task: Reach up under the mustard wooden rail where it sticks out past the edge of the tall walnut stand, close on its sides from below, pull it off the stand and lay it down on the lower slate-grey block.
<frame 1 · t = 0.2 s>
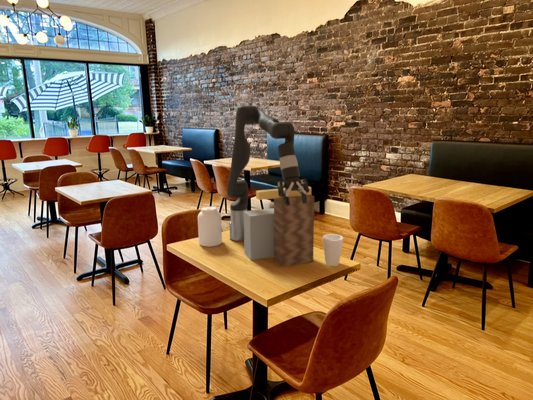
hand: (296, 204, 169), 32 cm above the table, tool tilted 20°, fingers open, 8 cm apart
white jar: (210, 243, 217), on the table
stand: (293, 260, 192), on the table
foam cup: (332, 263, 188), on the table
rail: (284, 196, 183), point 32 cm above the table, touching stand
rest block: (262, 254, 200), on the table
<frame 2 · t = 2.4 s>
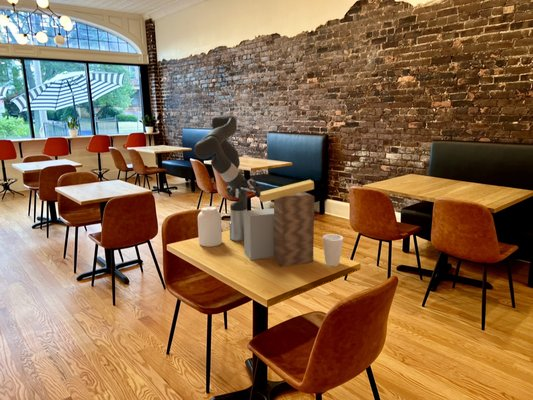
hand: (251, 198, 179), 32 cm above the table, tool tilted 40°, fingers open, 8 cm apart
rail: (287, 194, 183), point 33 cm above the table, tilted 14°, touching gripper
everything else where it was.
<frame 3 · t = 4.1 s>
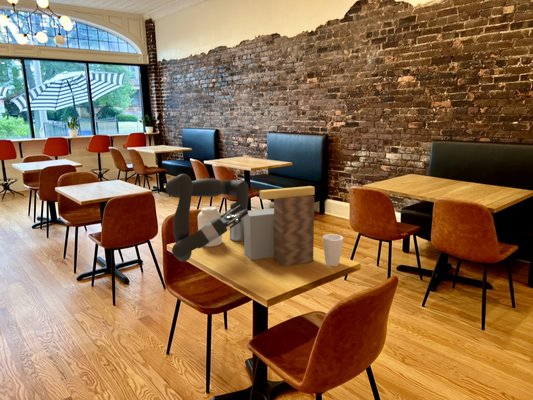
hand: (244, 208, 177), 28 cm above the table, tool pointing upward, fingers open, 8 cm apart
rail: (287, 196, 183), point 32 cm above the table, touching stand
everything else where it was.
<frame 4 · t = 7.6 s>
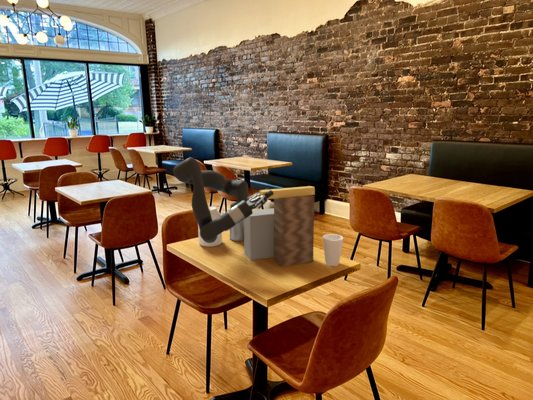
hand: (270, 190, 180), 35 cm above the table, tool pointing upward, fingers closed on rail, 3 cm apart
rail: (287, 196, 183), point 32 cm above the table, touching gripper, stand
everything else where it was.
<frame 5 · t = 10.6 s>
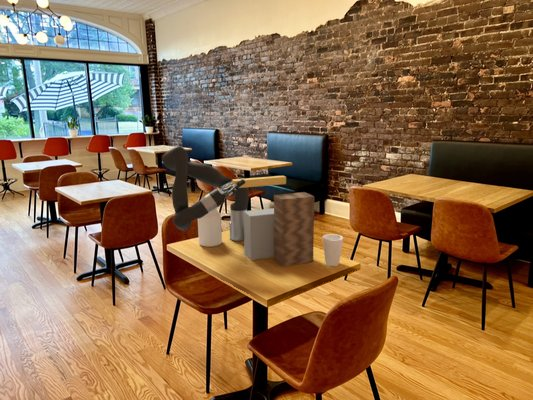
hand: (242, 180, 186), 39 cm above the table, tool pointing upward, fingers closed on rail, 3 cm apart
rail: (259, 185, 189), point 36 cm above the table, touching gripper
everything else where it was.
when the fingers open (26 cm above the table, at t = 13.6 s): rail moves 1 cm, resting on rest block.
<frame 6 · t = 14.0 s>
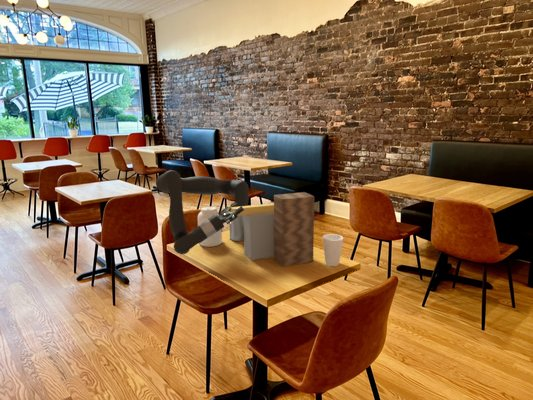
hand: (240, 206, 190), 26 cm above the table, tool pointing upward, fingers open, 7 cm apart
rail: (257, 212, 194), point 22 cm above the table, touching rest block
everything else where it was.
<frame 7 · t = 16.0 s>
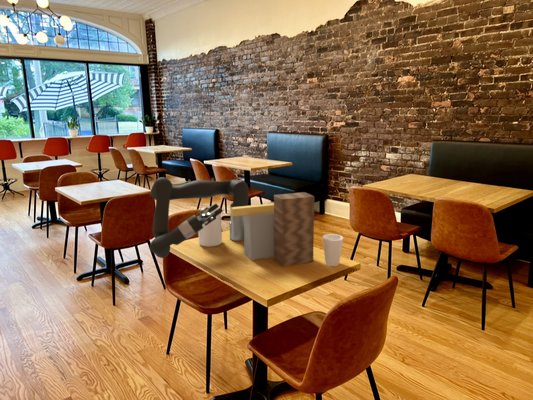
hand: (219, 207, 186), 27 cm above the table, tool pointing upward, fingers open, 8 cm apart
nothing on the table moved.
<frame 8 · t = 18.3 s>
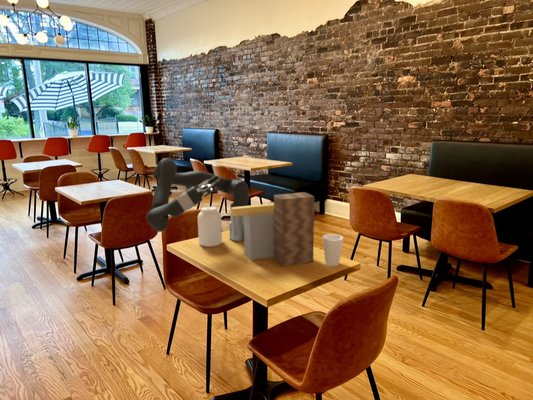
hand: (219, 178, 178), 41 cm above the table, tool pointing upward, fingers open, 8 cm apart
nothing on the table moved.
at the end: rail touching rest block; rail point 22.0 cm above the table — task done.
